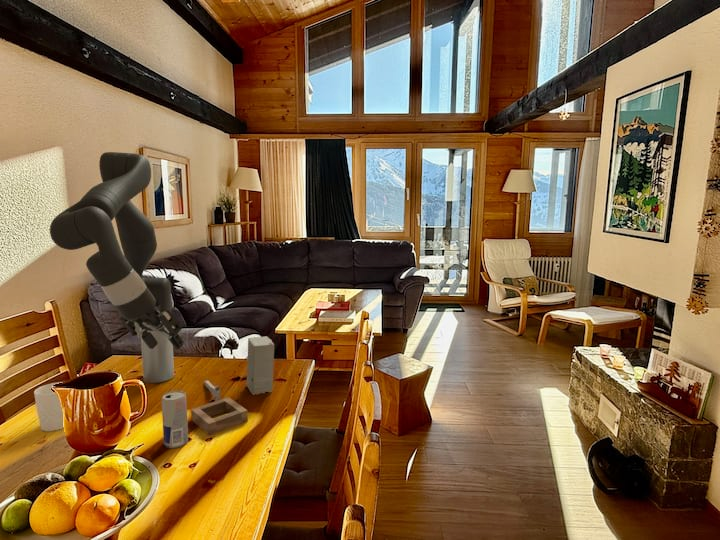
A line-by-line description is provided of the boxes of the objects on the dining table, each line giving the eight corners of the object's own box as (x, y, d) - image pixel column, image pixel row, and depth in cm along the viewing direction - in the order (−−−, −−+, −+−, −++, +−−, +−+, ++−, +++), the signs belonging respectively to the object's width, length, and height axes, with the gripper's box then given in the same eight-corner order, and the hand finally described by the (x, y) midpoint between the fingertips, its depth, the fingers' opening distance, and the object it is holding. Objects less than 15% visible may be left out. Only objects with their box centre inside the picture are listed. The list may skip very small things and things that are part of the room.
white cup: (30, 429, 106) (26, 391, 105) (61, 415, 114) (58, 379, 112) (51, 435, 104) (48, 397, 102) (82, 420, 111) (79, 384, 110)
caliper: (221, 409, 119) (220, 388, 118) (217, 410, 118) (216, 389, 117) (207, 383, 136) (206, 364, 135) (204, 383, 136) (203, 365, 135)
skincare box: (246, 385, 134) (244, 337, 132) (268, 381, 137) (267, 334, 135) (252, 396, 127) (251, 345, 124) (275, 392, 130) (275, 342, 128)
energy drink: (168, 437, 104) (166, 390, 102) (191, 436, 104) (189, 390, 103) (160, 449, 99) (157, 400, 97) (184, 448, 99) (181, 400, 97)
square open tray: (191, 419, 112) (191, 409, 112) (228, 407, 120) (228, 397, 119) (209, 435, 105) (209, 424, 104) (247, 420, 112) (247, 410, 112)
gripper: (163, 281, 92) (199, 335, 100) (119, 284, 98) (156, 335, 106) (139, 303, 86) (179, 359, 95) (93, 305, 92) (135, 357, 100)
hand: (167, 346), depth 100 cm, fingers open, 8 cm apart
